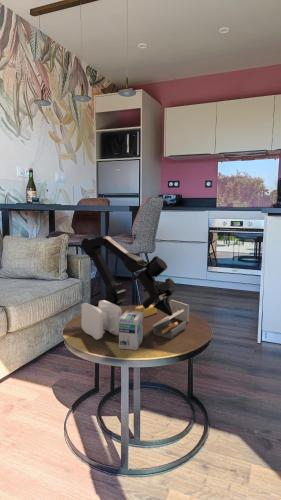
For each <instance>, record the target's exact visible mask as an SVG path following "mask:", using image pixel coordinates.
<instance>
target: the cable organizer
mask: <svg viewBox="0 0 281 500" xmlns="http://www.w3.org/2000/svg"><path fill="white" fill-rule="evenodd" d="M122 315H123V311H122V308H121V306H120V307H119V306H117V305H115V304H113V303H110V302H108V301H106V300H104V299H103V300H98V306H95V305H93V304H90V303H89V302H83V303H81V329H82V330H83V332H84V333H85V334H87V335H90V336H91V337H92V338H93V339H95V340H96V341H98V340H101V339H103V335H105V333H106V332H105V331H108V332H109V333H110V334H112V335H114V336H117V335H119V318H120V317H121V316H122Z"/></svg>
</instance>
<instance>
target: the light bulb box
mask: <svg viewBox="0 0 281 500" xmlns="http://www.w3.org/2000/svg"><path fill="white" fill-rule="evenodd" d="M143 332H144V317H143V312H136V311H135V310H125V312H124V313H122V316H121V317H120V318H119V334H118V349H122V350H123V349H125V350H132V351H137V350H138V349H139V347H140V345H141V344H142V342H143V337H144V335H143V334H144V333H143Z"/></svg>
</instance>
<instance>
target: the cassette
mask: <svg viewBox="0 0 281 500" xmlns="http://www.w3.org/2000/svg"><path fill="white" fill-rule="evenodd" d="M169 304H170V308H171V311H172V314H173V313H176V312H178V311H180V310H182V309H183V310H184V311H183V312H181V313H180V314H178V315H176V316H175V317H173V318H174V319H177V320H179V321H182V322H184V321H186V323H189V322H190V320H189V317H190V305H189V304H187V303H184V302H181V301H178V300H174V299H169ZM173 318H172V319H173Z"/></svg>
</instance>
